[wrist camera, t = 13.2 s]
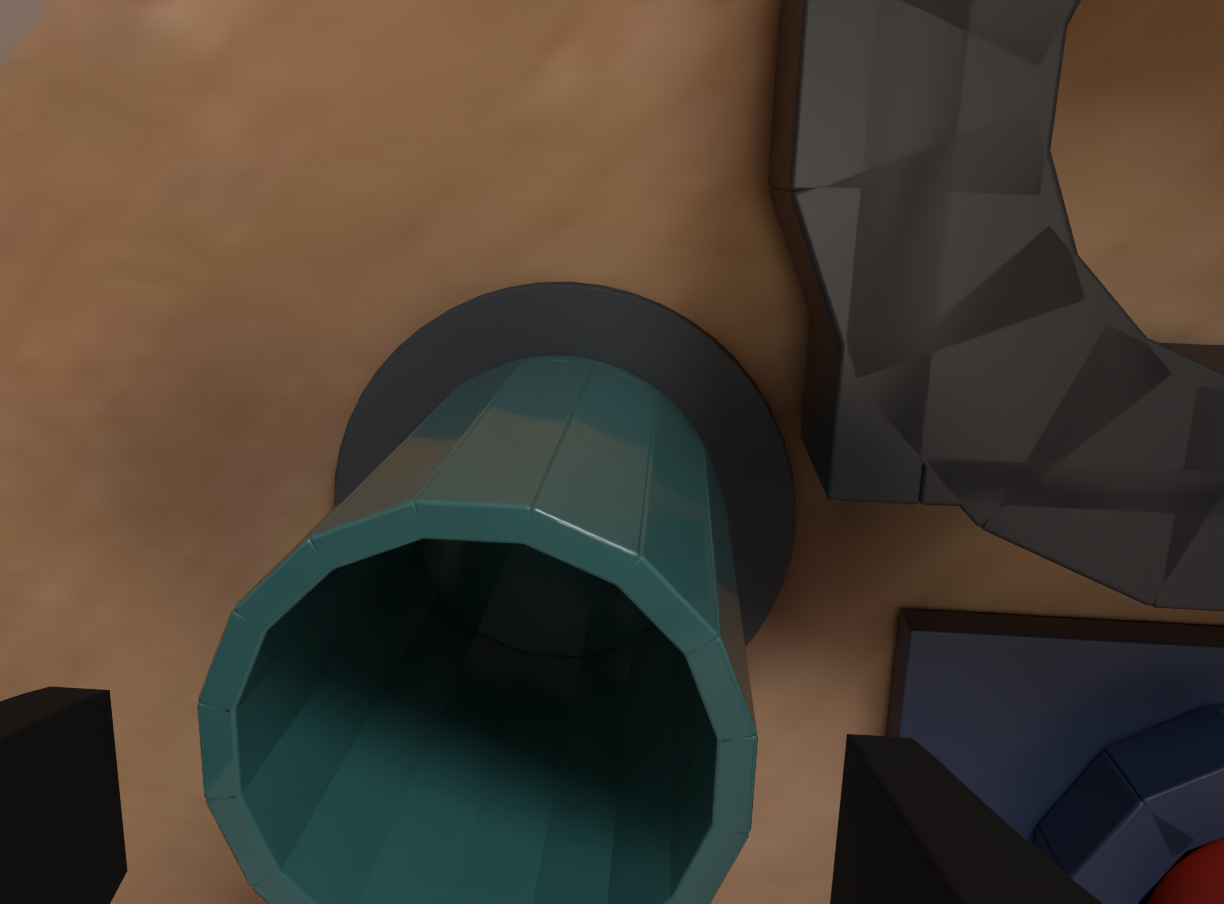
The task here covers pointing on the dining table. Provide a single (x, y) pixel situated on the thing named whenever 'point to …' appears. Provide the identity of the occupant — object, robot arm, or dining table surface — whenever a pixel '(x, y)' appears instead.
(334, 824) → the cup
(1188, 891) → the release button
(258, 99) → the dining table surface
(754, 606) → the coaster
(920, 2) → the cup holder
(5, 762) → the robot arm
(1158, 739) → the control block
